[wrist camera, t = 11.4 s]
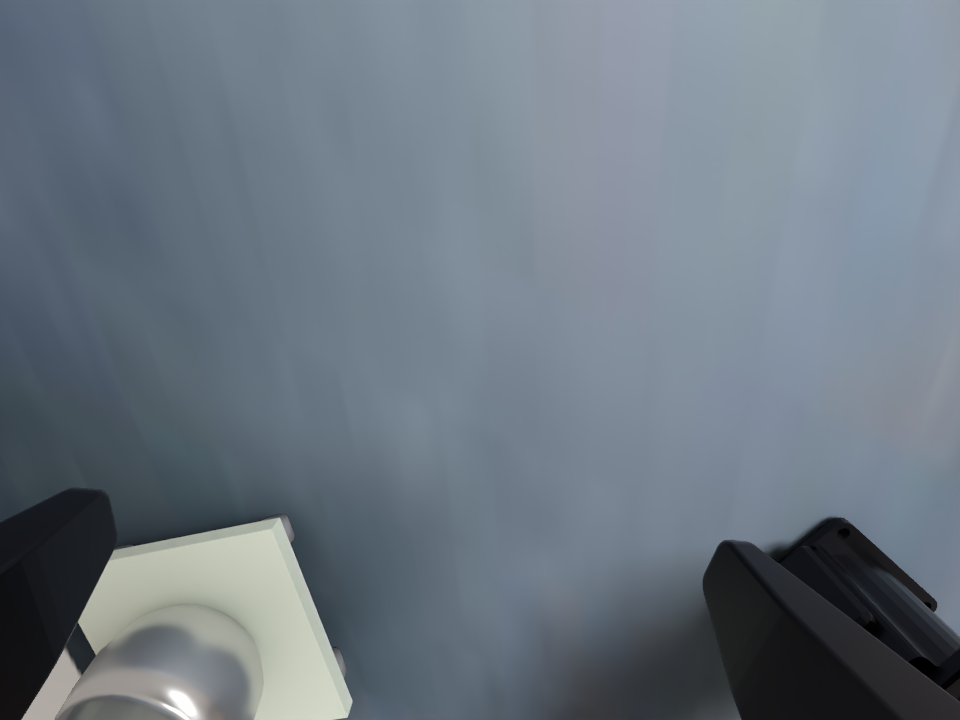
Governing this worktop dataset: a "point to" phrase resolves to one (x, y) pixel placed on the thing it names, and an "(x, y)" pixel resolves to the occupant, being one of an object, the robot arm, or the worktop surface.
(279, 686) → the plate
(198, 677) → the plastic bottle
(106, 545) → the robot arm
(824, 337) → the worktop surface
